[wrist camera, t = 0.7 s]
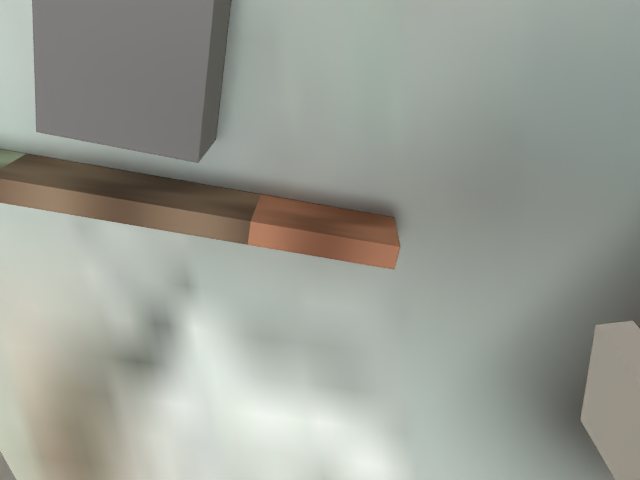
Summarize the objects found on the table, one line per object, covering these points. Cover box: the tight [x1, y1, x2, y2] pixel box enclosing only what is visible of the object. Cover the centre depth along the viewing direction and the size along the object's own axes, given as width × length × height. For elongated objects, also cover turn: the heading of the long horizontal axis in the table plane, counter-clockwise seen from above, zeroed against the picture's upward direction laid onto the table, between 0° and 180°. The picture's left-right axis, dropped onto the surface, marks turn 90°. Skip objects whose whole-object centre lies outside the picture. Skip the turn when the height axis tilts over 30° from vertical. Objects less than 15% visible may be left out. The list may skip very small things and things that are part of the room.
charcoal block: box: [32, 0, 231, 163], centre depth 25 cm, size 7×7×4 cm
